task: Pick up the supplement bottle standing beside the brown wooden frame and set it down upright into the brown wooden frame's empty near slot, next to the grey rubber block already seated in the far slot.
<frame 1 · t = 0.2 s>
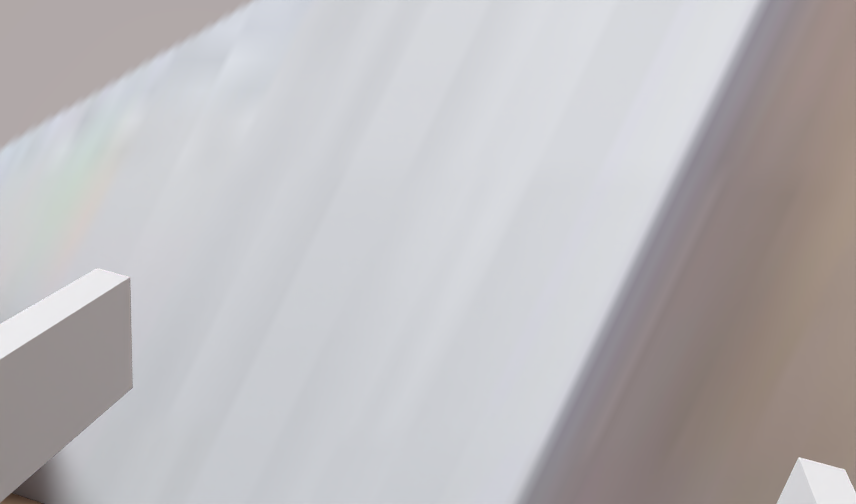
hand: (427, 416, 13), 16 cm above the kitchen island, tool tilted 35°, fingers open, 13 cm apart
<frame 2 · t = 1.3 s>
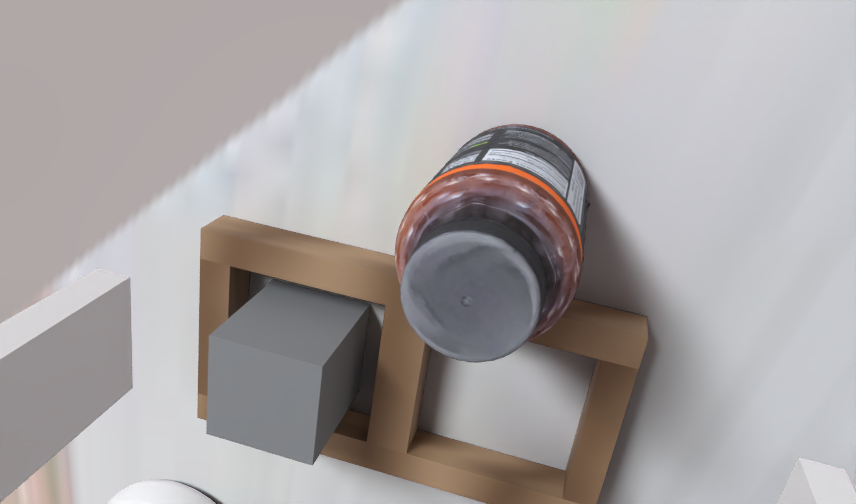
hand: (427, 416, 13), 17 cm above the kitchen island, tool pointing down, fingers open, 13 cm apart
block: (317, 335, 34), resting in brown wooden frame
brown wooden frame: (408, 360, 34), on the kitchen island
supplement bottle: (518, 189, 29), on the kitchen island
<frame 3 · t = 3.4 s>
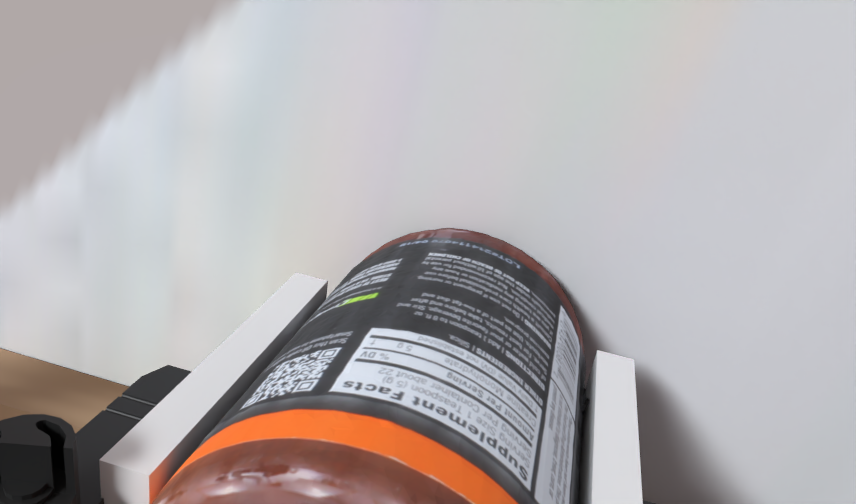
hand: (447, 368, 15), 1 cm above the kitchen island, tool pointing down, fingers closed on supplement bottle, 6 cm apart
supplement bottle: (461, 333, 17), on the kitchen island, touching gripper
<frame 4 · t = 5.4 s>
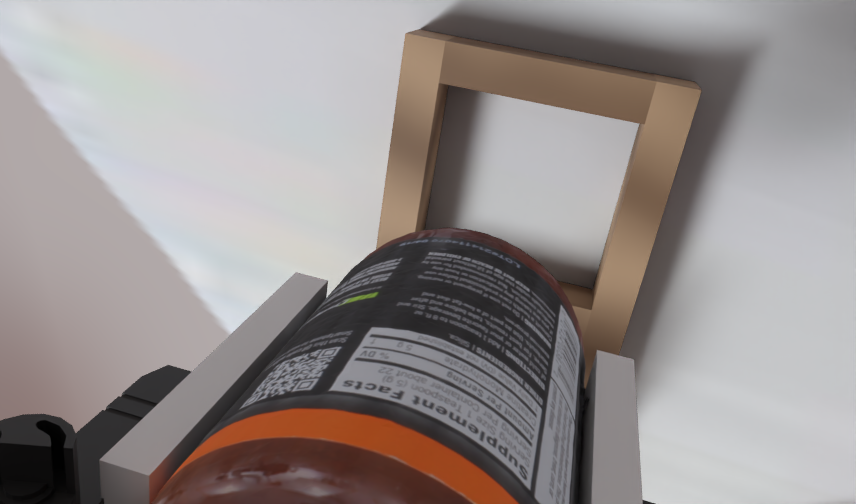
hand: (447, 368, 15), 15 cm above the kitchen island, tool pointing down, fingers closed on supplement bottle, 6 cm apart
brown wooden frame: (500, 288, 30), on the kitchen island
supplement bottle: (461, 333, 17), point 13 cm above the kitchen island, touching gripper
when the fingers open (4 cm above the kitchen island, at t = 7.6 s): supplement bottle drops 2 cm, resting in brown wooden frame.
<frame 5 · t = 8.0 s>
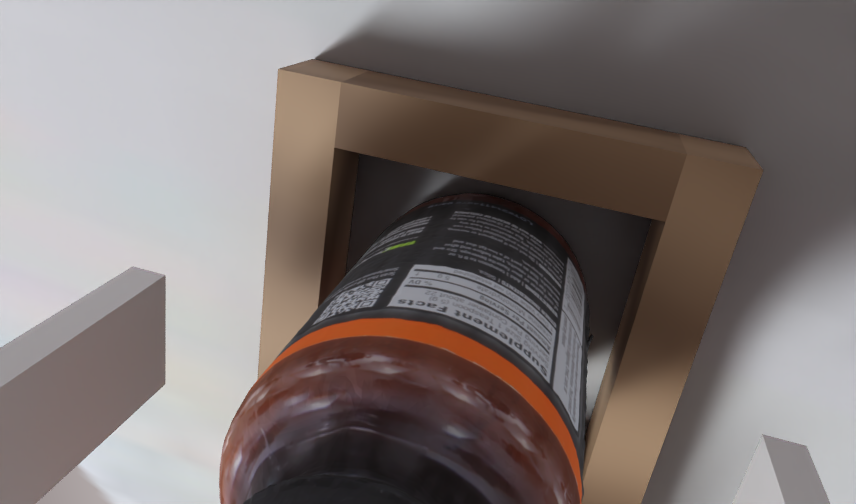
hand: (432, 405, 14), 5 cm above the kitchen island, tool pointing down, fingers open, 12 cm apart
brown wooden frame: (448, 435, 21), on the kitchen island
supplement bottle: (478, 289, 19), resting in brown wooden frame
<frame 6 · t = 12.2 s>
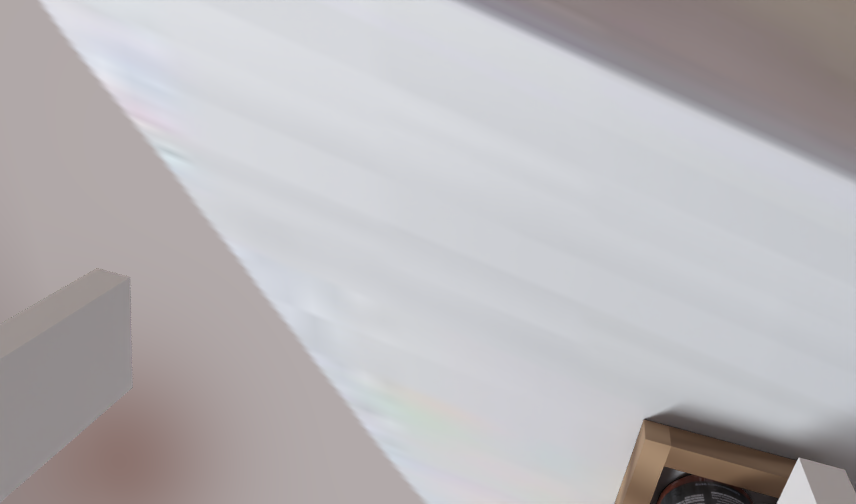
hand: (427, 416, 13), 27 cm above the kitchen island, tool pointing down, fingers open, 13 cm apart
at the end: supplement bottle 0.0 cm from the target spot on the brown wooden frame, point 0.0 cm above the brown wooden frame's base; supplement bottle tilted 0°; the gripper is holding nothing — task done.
